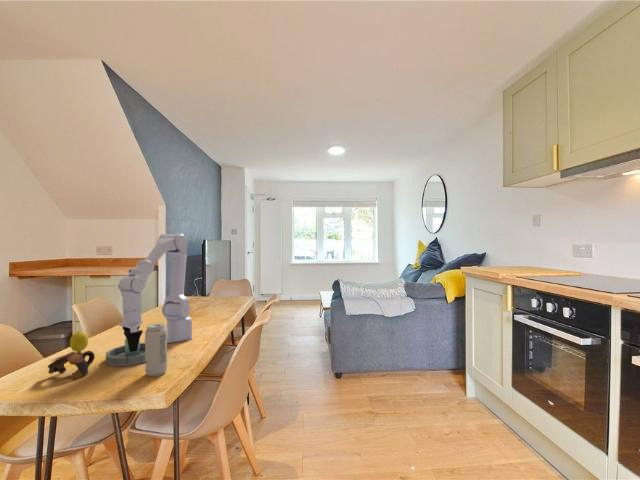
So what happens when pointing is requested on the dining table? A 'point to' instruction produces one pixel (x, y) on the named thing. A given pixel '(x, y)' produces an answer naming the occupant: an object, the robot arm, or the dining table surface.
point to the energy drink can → (155, 350)
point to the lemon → (79, 341)
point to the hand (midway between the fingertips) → (132, 348)
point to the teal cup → (127, 351)
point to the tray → (118, 357)
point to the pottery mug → (73, 363)
